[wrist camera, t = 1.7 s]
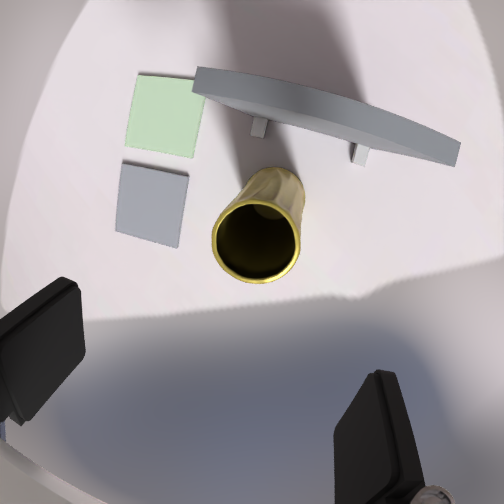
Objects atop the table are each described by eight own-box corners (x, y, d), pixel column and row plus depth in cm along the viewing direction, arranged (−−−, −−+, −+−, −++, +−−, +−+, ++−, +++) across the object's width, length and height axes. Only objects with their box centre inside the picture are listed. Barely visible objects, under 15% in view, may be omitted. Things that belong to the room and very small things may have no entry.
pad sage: (140, 75, 29) (137, 75, 28) (209, 82, 28) (207, 82, 28) (126, 145, 32) (124, 146, 31) (192, 158, 31) (191, 158, 31)
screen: (259, 86, 28) (207, 28, 11) (378, 119, 27) (469, 104, 10) (247, 134, 30) (182, 133, 13) (366, 166, 29) (442, 206, 12)
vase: (232, 203, 32) (185, 253, 19) (266, 154, 30) (240, 169, 17) (281, 238, 33) (267, 309, 20) (317, 190, 31) (330, 233, 17)
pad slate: (124, 163, 32) (121, 163, 32) (189, 176, 32) (187, 177, 31) (117, 229, 35) (115, 231, 35) (178, 246, 35) (176, 248, 34)
